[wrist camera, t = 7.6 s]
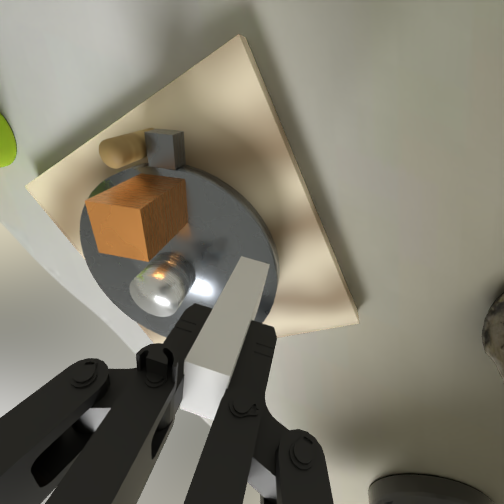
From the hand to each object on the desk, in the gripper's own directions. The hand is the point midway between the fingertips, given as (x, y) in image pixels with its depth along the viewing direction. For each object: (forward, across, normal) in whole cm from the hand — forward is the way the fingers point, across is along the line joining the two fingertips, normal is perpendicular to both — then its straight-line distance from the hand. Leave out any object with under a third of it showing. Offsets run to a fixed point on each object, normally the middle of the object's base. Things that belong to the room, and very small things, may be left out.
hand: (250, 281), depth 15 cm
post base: (+9, +6, +5) cm, 12 cm away
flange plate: (+6, +7, +4) cm, 10 cm away
